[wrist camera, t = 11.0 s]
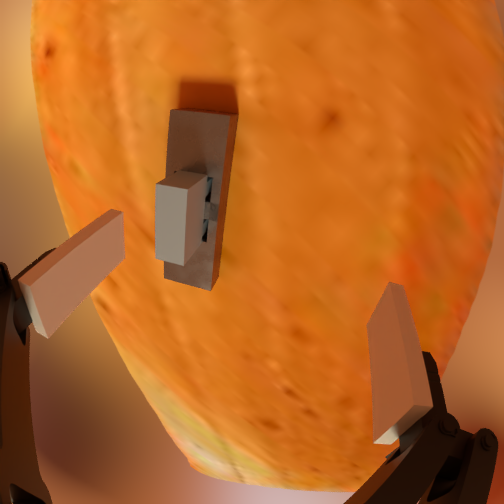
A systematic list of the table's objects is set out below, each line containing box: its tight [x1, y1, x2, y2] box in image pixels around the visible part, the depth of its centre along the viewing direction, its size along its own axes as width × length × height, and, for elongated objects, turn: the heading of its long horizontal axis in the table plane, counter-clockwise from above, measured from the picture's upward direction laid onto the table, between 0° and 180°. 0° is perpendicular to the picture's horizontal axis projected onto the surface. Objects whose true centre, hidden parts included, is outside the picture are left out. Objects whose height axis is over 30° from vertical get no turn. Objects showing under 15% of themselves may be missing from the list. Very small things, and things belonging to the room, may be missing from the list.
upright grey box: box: [155, 170, 213, 266], centre depth 40 cm, size 10×4×10 cm, turn 172°
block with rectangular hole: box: [164, 108, 239, 291], centre depth 43 cm, size 26×8×4 cm, turn 172°
